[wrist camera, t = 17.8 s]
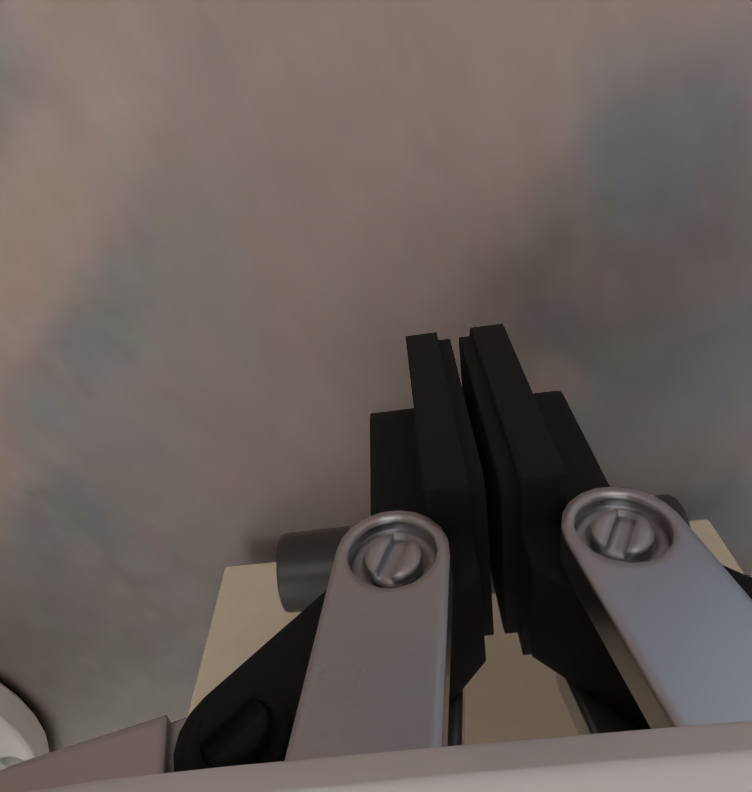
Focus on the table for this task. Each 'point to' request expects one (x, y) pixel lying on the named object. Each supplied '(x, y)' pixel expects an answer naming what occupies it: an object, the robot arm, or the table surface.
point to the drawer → (308, 578)
